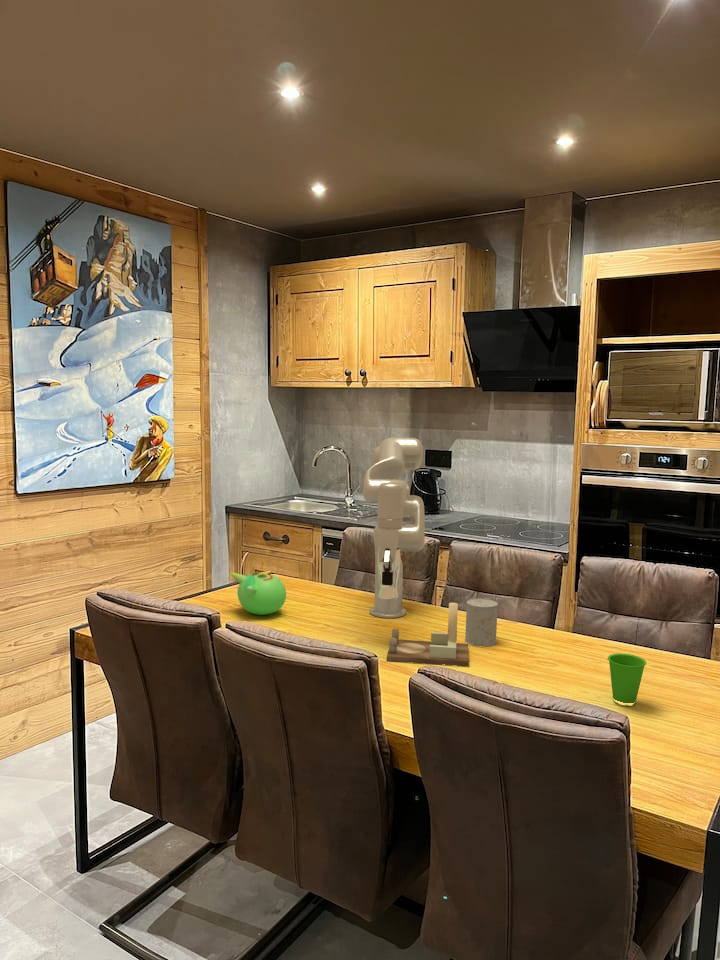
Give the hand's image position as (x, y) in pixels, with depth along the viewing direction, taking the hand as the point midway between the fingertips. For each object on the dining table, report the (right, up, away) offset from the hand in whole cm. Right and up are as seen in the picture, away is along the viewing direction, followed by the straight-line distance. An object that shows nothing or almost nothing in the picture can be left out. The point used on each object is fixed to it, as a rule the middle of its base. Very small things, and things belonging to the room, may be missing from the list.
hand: (388, 581), depth 220 cm
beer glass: (0, -5, +1) cm, 5 cm away
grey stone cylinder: (+29, -19, +4) cm, 35 cm away
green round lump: (-43, -15, +29) cm, 54 cm away
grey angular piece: (+15, -19, -9) cm, 26 cm away
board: (+11, -20, -8) cm, 25 cm away
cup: (+57, -25, -39) cm, 74 cm away
